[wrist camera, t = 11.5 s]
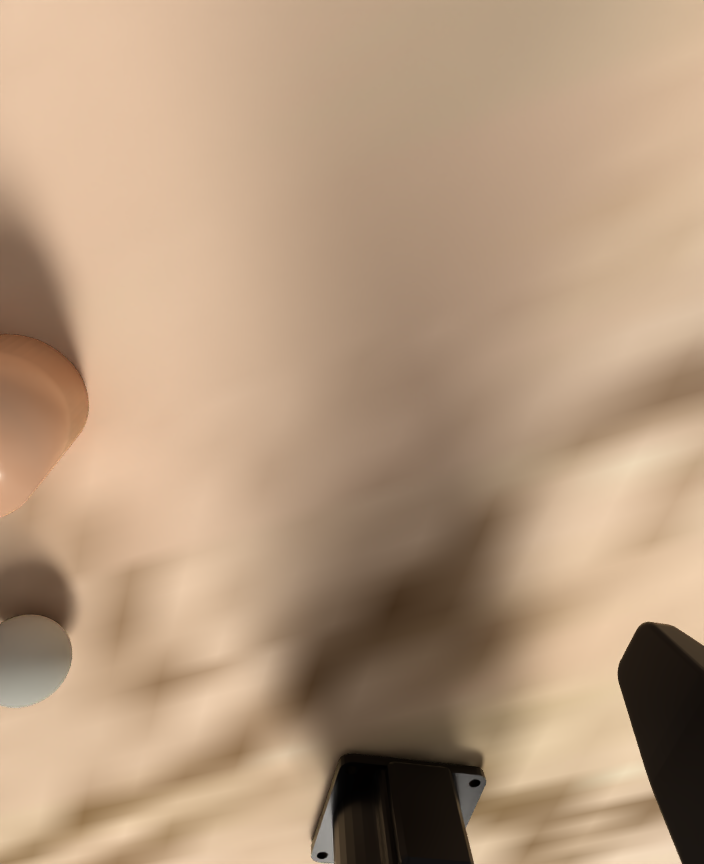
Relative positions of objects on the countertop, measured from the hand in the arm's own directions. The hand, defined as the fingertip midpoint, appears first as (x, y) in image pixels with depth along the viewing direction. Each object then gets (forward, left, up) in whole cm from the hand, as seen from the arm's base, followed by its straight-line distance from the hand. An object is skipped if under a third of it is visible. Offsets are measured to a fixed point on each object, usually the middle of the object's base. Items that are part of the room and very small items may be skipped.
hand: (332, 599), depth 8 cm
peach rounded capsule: (-3, +9, -12) cm, 15 cm away
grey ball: (-12, +8, -12) cm, 19 cm away
